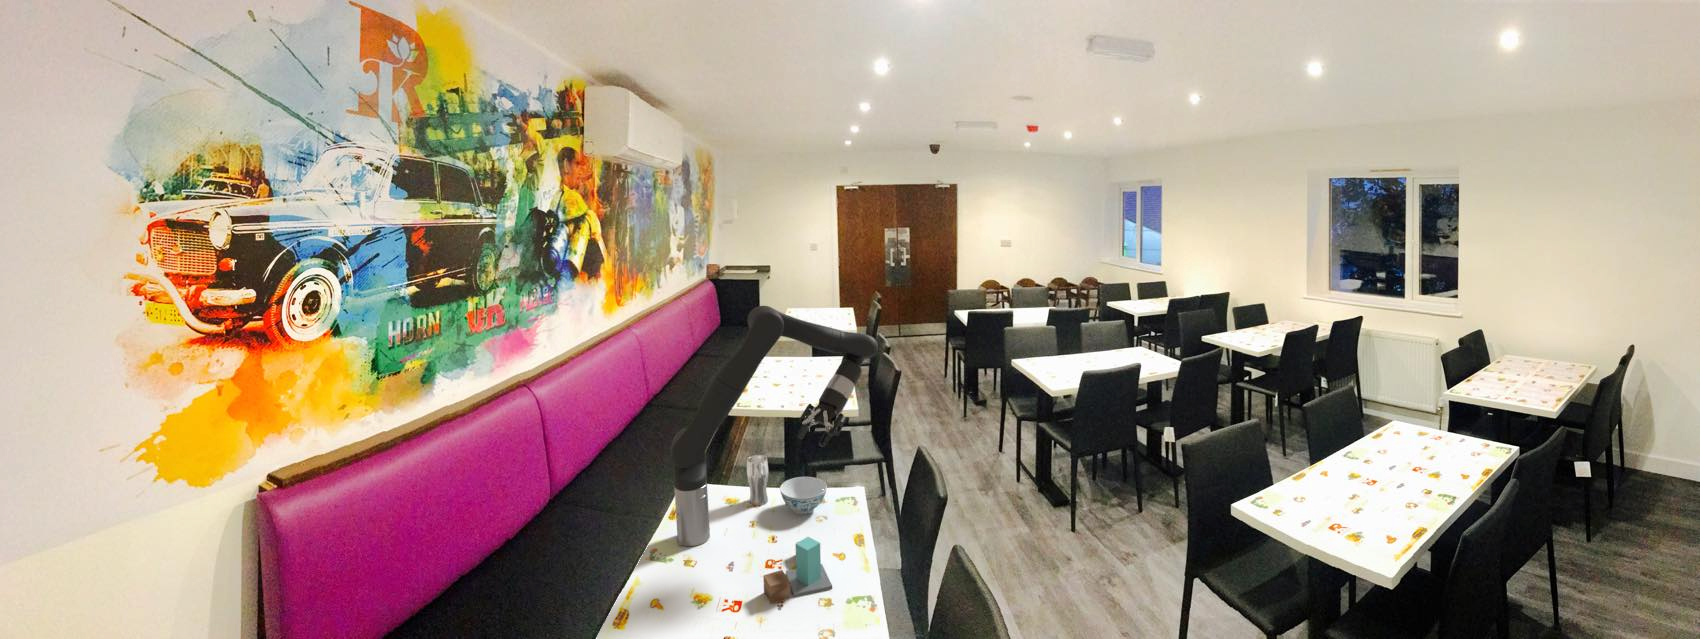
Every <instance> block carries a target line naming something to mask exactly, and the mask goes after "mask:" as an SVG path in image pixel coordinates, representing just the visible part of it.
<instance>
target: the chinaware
mask: <svg viewBox="0 0 1700 639" xmlns="http://www.w3.org/2000/svg"><path fill="white" fill-rule="evenodd" d="M827 488H828V485H827V483H826V482H825V481H824V480H822V479H820V478H818V477H814V476H813V477H812V476H798V477H793V478H790V479H787V480H785V481H783V483H782V484H781V485H780V488H779V490H780V494H781V498H782V500H783V502H784V503H785V505H787V506H788V508H790V509H791V510H793V512H794V513H796V514H798V515H808V514H807V513H809V514H811V513H813V512H814V511H813V510H815V509H816V508H817V507H818V506H820V505H821V503H822V502H823V500H824V499H825V497H826V494H827ZM822 489H824V490H822ZM812 511H813V512H812Z"/></svg>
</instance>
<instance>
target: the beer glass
mask: <svg viewBox="0 0 1700 639" xmlns="http://www.w3.org/2000/svg"><path fill="white" fill-rule="evenodd" d="M746 475H747V482H748V485H749V490H750V491H749V492H750V493H749V494H750V495H749V504H750V505H751V506H755V505H756V506H757V507H759V506H758V505H760V506H764V505H765V504H767V503H768V502H769V498H768V494H767V487H768V486H767V485H768V480H769V464H768V457H767V456H765V455H762V454H756V455H755V454H754V455H752V456H749V457H747V460H746Z"/></svg>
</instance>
